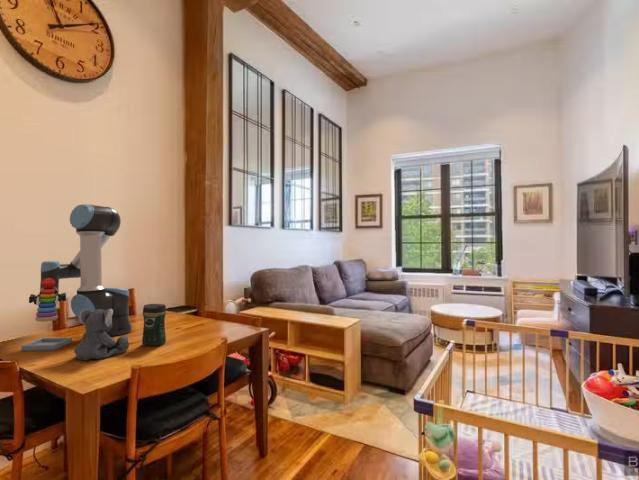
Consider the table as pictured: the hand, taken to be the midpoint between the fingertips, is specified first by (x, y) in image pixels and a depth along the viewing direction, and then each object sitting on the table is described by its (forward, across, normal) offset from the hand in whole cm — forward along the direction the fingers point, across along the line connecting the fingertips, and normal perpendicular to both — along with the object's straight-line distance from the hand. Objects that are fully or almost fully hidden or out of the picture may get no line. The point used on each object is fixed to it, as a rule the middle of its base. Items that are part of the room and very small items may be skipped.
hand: (47, 301), depth 154 cm
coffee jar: (+17, -40, -20) cm, 48 cm away
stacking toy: (-5, 0, -9) cm, 10 cm away
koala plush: (+22, -18, -20) cm, 35 cm away
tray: (-4, -1, -21) cm, 21 cm away
